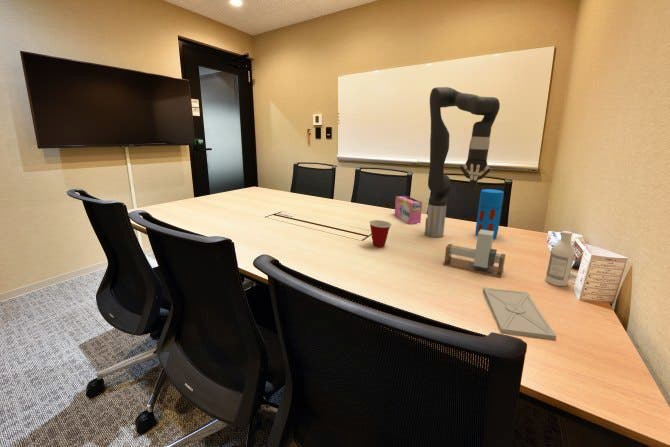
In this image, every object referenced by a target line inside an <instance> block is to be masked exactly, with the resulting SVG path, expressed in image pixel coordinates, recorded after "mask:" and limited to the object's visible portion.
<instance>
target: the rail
mask: <svg viewBox="0 0 670 447" xmlns="http://www.w3.org/2000/svg"><path fill="white" fill-rule="evenodd" d="M475 251H476V248H469V247H464V246H459V245H454V244H451V243H448V244H447V246H445V254H444V261H443V263H442V265H443V266H445V267H450V268H454V269H459V270H464V271H467V272H473V273H477V274H482V275H487V276H490V277H494V278H495V277H496V278H498V279H499V278H500V279H501V277H502V274H503V272H504V269H505V268H504V266H505V261H506V260H505V259H506V253H497V252H496V254H495V258H494V264H498V266H496V265H493V266H488V267H487V268H483V267H479V266H474V260H473V261H472V260H468V259H474V258H475ZM453 255H454V256H459V257H464V258H468V259H462V258H458V257H453Z"/></svg>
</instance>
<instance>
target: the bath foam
mask: <svg viewBox="0 0 670 447" xmlns="http://www.w3.org/2000/svg"><path fill="white" fill-rule="evenodd" d="M572 237H573V232H571V231H569V230H562V231H561V237H560V240H559V241H558V242H557V243H556V244H555V245H554V246H553V247H552V249H551V252H550V256H549V260H548V266H547V269H546V275H545V281H546V282H547V283H548V284H551V285H554V286H558V287H565V286H568V284H569V281H570V277H571V276H570V275H571V271H572V268H573V263H574V260H575V249H574V247H573V245H572V243H571V241H572Z"/></svg>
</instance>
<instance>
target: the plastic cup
mask: <svg viewBox="0 0 670 447" xmlns="http://www.w3.org/2000/svg"><path fill="white" fill-rule="evenodd" d="M368 223H369V226H370V232H371V240H372V245H373V247H374V248H384V247H385V245H386V243H387V239H388V234H389V230H390V228H391V226H392V222H391V223H390V222H389V221H385V220H380V219H373V220H369V222H368Z"/></svg>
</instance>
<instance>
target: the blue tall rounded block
mask: <svg viewBox="0 0 670 447" xmlns="http://www.w3.org/2000/svg"><path fill="white" fill-rule="evenodd" d="M504 194H505V193H504V191H503V190H500V189H499V190H498V189H493V188H491V189H489V188H486V189H481V190H480V196H479V201H478V203H479V204H478V209H477V216H476V224H475V233H474V234H475V235H476V236H477V237H478V233H479V231H480V230H481V229H482V230H488V231H494V236H493V240H496V239H497V238H496V237H498V232H499V226H500V221H501V214H502V206H503V202H504ZM475 235H474V236H475ZM476 236H475V237H476ZM477 237H476V238H477ZM495 238H496V239H495Z"/></svg>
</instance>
